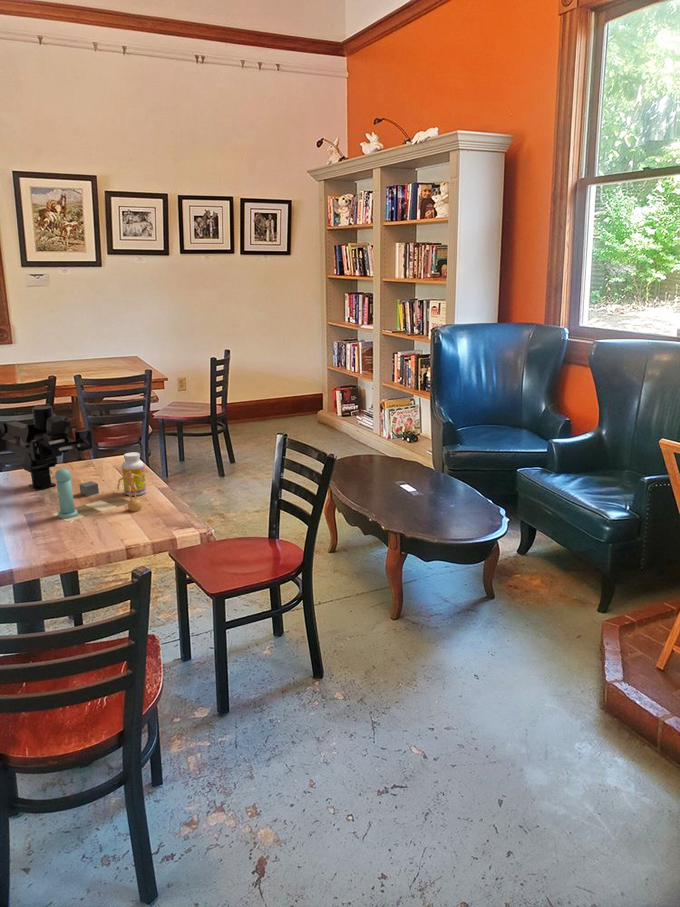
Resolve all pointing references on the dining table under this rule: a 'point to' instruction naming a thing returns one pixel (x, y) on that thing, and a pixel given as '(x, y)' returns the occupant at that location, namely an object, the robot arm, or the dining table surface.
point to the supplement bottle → (135, 468)
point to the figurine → (133, 503)
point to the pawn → (65, 494)
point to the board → (97, 507)
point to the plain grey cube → (89, 488)
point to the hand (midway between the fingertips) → (75, 450)
